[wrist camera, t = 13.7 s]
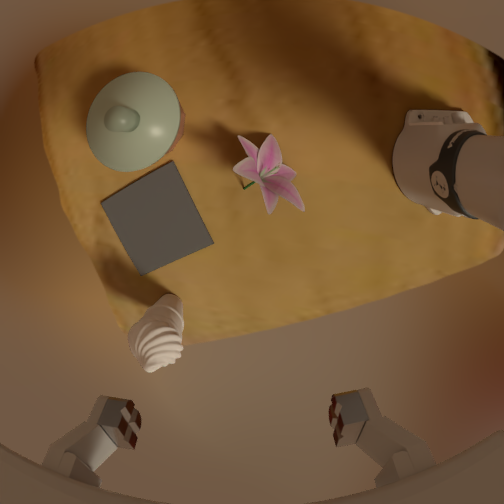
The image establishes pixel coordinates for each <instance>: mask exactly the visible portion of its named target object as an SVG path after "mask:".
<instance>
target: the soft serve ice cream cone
mask: <svg viewBox="0 0 504 504" xmlns="http://www.w3.org/2000/svg"><path fill="white" fill-rule="evenodd" d="M183 328H184V321H183V303H182V301H181V300H180V298H179V297H177V296H176V295H173V294H165V295H163V296H162V297H161V298H160V299H159V300H158V301H157V302H156V303H155V304H154V305H153V306H151V307H149V308H148V309H147V311H146V312H145V315H144V316H143V317H142V318H141V319H140V320H139V322H137V323H135V324H134V325H133V326H132V327H131V329H130V330H129V333H128V342H129V347H130V350H131V352H132V353H133V355H134V356H135V357H136V358H137V360H138V361H139V363H140V365H141V366H142V368H143V369H144V370H145V371H146V372H149V373H151V372H154V371H155V370H156V369H159V368H160V367H161V366H163V367H165V366H167V365H168V364H174V363H175V359H176V358H180V357H181V354H180V351H182V350H183V346H182V345H181V342H182V331H183Z"/></svg>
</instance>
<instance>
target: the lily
mask: <svg viewBox="0 0 504 504" xmlns="http://www.w3.org/2000/svg"><path fill="white" fill-rule="evenodd" d="M238 138H239V140H240V142H241V144H242V146H243V148H244V150H245V151H246V153H247V155H248V157H247V158H245V159H244V160H242V161H240V162H239V163H237V164H236V165H235V166H234V167H233V171H234V172H235V173H237V174H239V175H241V176H243V177H245V178H248V179H250V180H252V181H253V182H252V183H250V184H248V185H247V186H246V187H244V188H243V189H244V190H245V189H246V188H248V187H249V186H251V185H252V184H254V183H258V184H260V187H261V190H262V194H263V198H264V201H265V205H266V209H267V212H268V214H271V213H272V212H273V210H274V208H275V206H276V204H277V202H278V195H279V196H281V197H282V198H284V199H286V200H288V201H289V202H291V203H292V204H293V205H295V206H296V207H297V208H299V209H300V210H302V211H303V212H305V208H304V204H303V202H302V199H301V197H300V195H299V193H298V191H297V189H296V188H295V186H294V185H293V184H292V183H291V182H290V181H292V180H293V179H294V178H295V177H296V173H295V171H294V170H293V169H291V168H290V167H288V166H286V165H284V164H282V155H281V151H280V148H279V145H278V143H277V141H276V139H275V137H274V136H273V135H272V134H270V135H269V136H268V137H267V138H266V140H265V141H264V143H263V144H262V146H261V147H260V150H259V149H258V148H257V147H256V146H255V145H254V144H253V143H251V142H250V141H248V140H247V139H245V138H244V137H242V136H239V135H238Z"/></svg>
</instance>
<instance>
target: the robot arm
mask: <svg viewBox="0 0 504 504" xmlns="http://www.w3.org/2000/svg"><path fill="white" fill-rule="evenodd" d="M418 115H419V116H420V119H419V118H418ZM393 171H394V175H395V179H396V181H397V184H398V186H399V188H400V189H401V191H402V192H403V193H404V195H405V196H406V197H407V198H409V199H410V200H411V201H413V202H415V203H418V204H421V205H424V206H425V207H426V208H427V209H428V210H429V211H430V212H431V213H432V214H435V215H439V214H441V213H442V212H444V213H447V214H450V215H453V216H457V217H460V216H461V215H462V216H464V217H468V218H472V219H481V220H483V221H485V222H487V223H489V224H491V225H493V226H495V227H497V228H499V229H501V230H503V231H504V136H489V135H487V134H486V132H485V130H484V129H483V127H482V126H481V125H480V124H479V123H474V122H473V120H472V119H471V117H470V116H469V114H468V113H467V112H464V111H451V110H409V111H408V112H407V114H406V118H405V125H404V128H403V130H402V132H401V133H400V135H399V137H398V138H397V141H396V143H395V146H394V151H393ZM331 401H332V404H331V405H330V407H329V421H330V425H331V427H333V428H334V433H333V437H334V441H335V445H336V447H341V446H346V445H350V444H356V445H357V446H358V447H359V448H361V449H362V450H363V451H364V452H365V453H366V454H367V455H368V456H370V457H371V458H372V459H373V460H374V461H375V462H377V463H378V464H379V465H380V466H381V467H383V469H382V470H381V471H380V473H379V474H378V475H377V476H376V478H375V479H374V480H375V483H376V487H377V488H374V489H371V490H367V491H364V492H360V493H356V494H352V495H348V496H344V497H339V498H335V499H329V500H324V501H318V502H312V503H306V504H504V431H503V430H499V431H496V432H494V433H493V434H491V435H490V436H488V437H486V438H485V439H483V440H482V441H480V442H478V443H477V444H475V445H473V446H471V447H470V448H468V449H466V450H464V451H463V452H461V453H459V454H457V455H455V456H453V457H451V458H449V459H447V460H445V461H443V462H441V463H439V464H437V465H436V462H435V460H434V458H433V456H432V453H431V451H430V449H429V447H428V445H427V443H426V441H424V440H423V439H421V438H420V437H418V436H416V435H415V434H413V433H411V432H410V431H408V430H406V429H405V428H403V427H402V426H400V425H398V424H397V423H395V422H394V421H392V420H391V419H389V418H387V417H386V416H384V417H382V415H381V413H380V411H379V408H378V406H377V404H376V401H375V399H374V397H373V395H372V392H371V390H370V389H369V388H364V389H359V390H353V391H348V392H344V393H338V394H333V395H332V398H331ZM134 405H135V404H134V403H133V401H132V400H127V399H120V398H115V397H109V396H103V395H100V396H99V397H98V398H97V401H96V403H95V405H94V407H93V410H92V411H91V414H90V416H89V418H88V420H87V422H83V423H81V424H80V425H79V426H77V427H76V428H75V429H73V430H71V431H70V432H68V433H67V434H65V435H64V436H63V437H61V438H60V439H58V440H57V441H55V442H54V443H52V444H51V445H50V447H49V449H48V451H47V454H46V456H45V458H44V460H43V463H42V465H39V464H37V463H35V462H33V461H31V460H29V459H27V458H26V457H24V456H22V455H20V454H18V453H16V452H14V451H12V450H11V449H9V448H7V447H6V446H4V445H3V444H1V443H0V504H169V503H162V502H156V501H150V500H146V499H141V498H136V497H131V496H127V495H123V494H119V493H116V492H112V491H108V490H104V489H102V488H100V486H101V482H102V480H101V478H100V477H99V476H98V475H96V474H95V473H94V471H95V470H96V469H97V468H98V467H99V466H100V465H101V464H102V463H103V462H104V461H105V460H106V459H107V458H108V457H109V456H110V455H111V454H112V453H113V452H114V451H115V450H116V449H117V447H120V448H126V449H132V450H134V449H135V446H136V442H137V436H136V433H137V432H138V431H139V430H140V428H141V415H140V413H139V411H138V410H136V409H135V408H134Z"/></svg>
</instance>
